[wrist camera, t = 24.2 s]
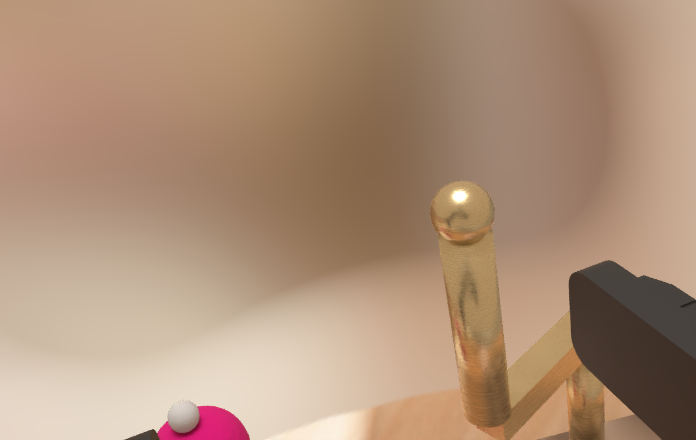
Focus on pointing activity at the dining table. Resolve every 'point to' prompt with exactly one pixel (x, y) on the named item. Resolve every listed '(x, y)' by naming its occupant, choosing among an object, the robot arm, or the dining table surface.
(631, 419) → the base
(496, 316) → the brass crank handle
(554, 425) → the dining table surface
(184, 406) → the pepper mill
